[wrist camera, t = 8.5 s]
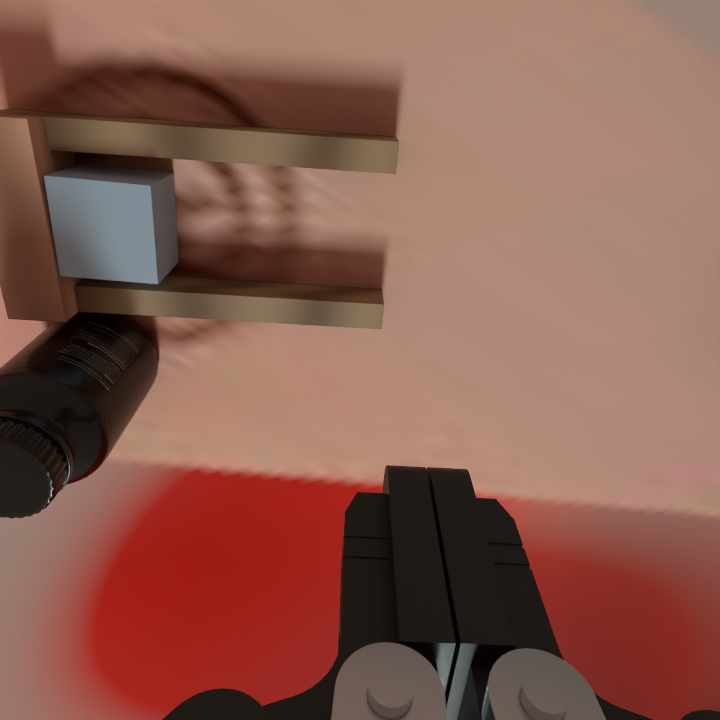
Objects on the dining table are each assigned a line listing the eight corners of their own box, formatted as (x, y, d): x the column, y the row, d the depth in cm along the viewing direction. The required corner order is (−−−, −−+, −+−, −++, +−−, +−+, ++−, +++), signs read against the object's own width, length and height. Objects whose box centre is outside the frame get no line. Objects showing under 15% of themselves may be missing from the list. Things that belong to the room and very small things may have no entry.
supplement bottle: (28, 321, 34) (-122, 435, 23) (129, 290, 33) (21, 393, 22) (85, 412, 37) (-24, 549, 26) (179, 386, 36) (105, 516, 25)
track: (395, 136, 29) (401, 145, 26) (379, 312, 34) (382, 340, 30) (8, 108, 28) (-42, 114, 25) (45, 292, 33) (8, 318, 29)
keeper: (174, 172, 30) (150, 185, 27) (179, 261, 32) (157, 284, 29) (80, 163, 30) (43, 175, 26) (92, 253, 32) (59, 275, 29)
